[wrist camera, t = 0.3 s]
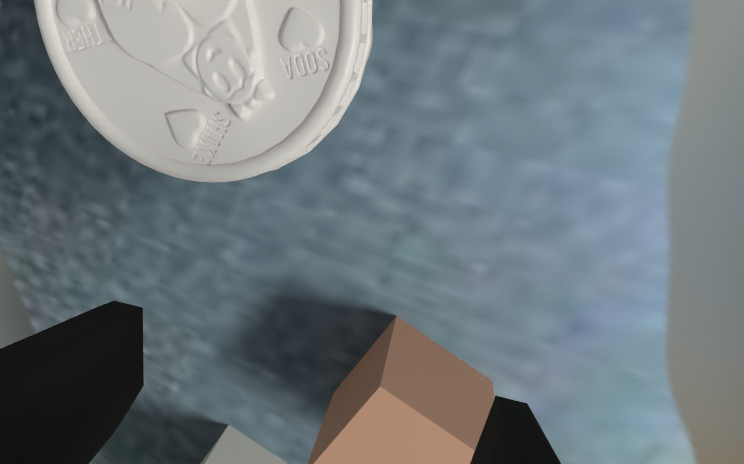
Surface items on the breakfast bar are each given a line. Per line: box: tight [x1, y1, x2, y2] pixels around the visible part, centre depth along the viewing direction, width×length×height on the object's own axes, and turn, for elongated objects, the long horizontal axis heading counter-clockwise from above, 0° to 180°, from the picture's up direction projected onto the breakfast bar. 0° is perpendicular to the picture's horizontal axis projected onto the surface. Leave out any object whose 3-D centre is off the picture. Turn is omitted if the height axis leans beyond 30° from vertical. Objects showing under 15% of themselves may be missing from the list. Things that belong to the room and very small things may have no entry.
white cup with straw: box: [34, 0, 373, 182], centre depth 12 cm, size 6×6×14 cm
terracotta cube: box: [308, 316, 494, 464], centre depth 20 cm, size 5×5×5 cm
